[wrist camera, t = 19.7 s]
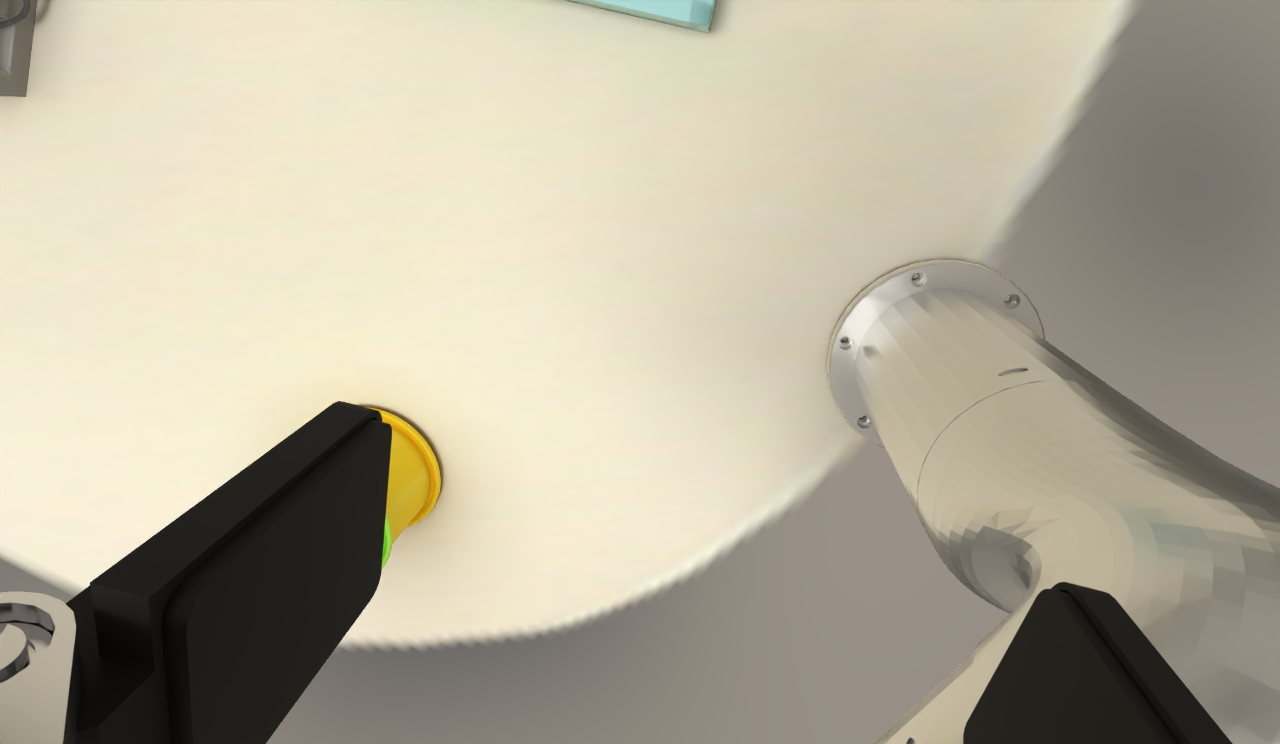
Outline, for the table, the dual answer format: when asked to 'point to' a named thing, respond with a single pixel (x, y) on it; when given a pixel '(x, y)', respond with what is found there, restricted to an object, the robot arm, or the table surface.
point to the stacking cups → (408, 480)
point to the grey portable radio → (16, 45)
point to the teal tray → (662, 10)
